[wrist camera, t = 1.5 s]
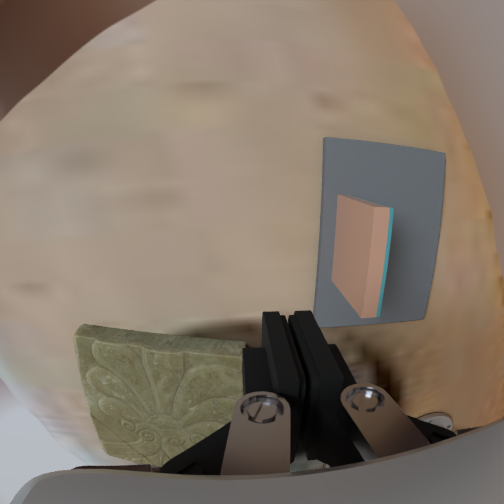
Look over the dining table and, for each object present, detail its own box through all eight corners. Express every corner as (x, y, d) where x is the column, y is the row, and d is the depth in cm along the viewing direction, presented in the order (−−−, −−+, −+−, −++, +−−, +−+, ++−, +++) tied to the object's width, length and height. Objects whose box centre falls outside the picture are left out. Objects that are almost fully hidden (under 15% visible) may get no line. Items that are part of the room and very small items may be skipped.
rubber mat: (420, 316, 33) (423, 319, 32) (312, 323, 32) (313, 327, 31) (441, 153, 28) (445, 153, 27) (323, 137, 27) (325, 137, 26)
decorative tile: (108, 441, 36) (101, 459, 33) (80, 320, 31) (67, 336, 28) (239, 456, 38) (240, 476, 34) (252, 337, 33) (254, 356, 29)
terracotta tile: (346, 279, 30) (379, 317, 22) (331, 280, 30) (361, 318, 22) (353, 195, 28) (393, 207, 20) (337, 194, 28) (374, 206, 20)
